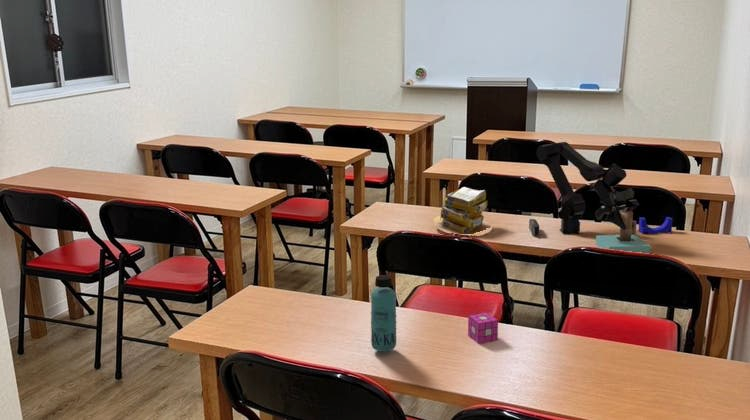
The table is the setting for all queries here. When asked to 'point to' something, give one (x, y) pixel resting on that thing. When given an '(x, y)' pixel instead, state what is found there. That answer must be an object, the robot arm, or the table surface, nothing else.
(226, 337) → the table surface
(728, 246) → the table surface
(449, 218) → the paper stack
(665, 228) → the cable clip
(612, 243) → the teal hole plate
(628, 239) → the tall walnut pin
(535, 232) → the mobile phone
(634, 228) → the short walnut pin
